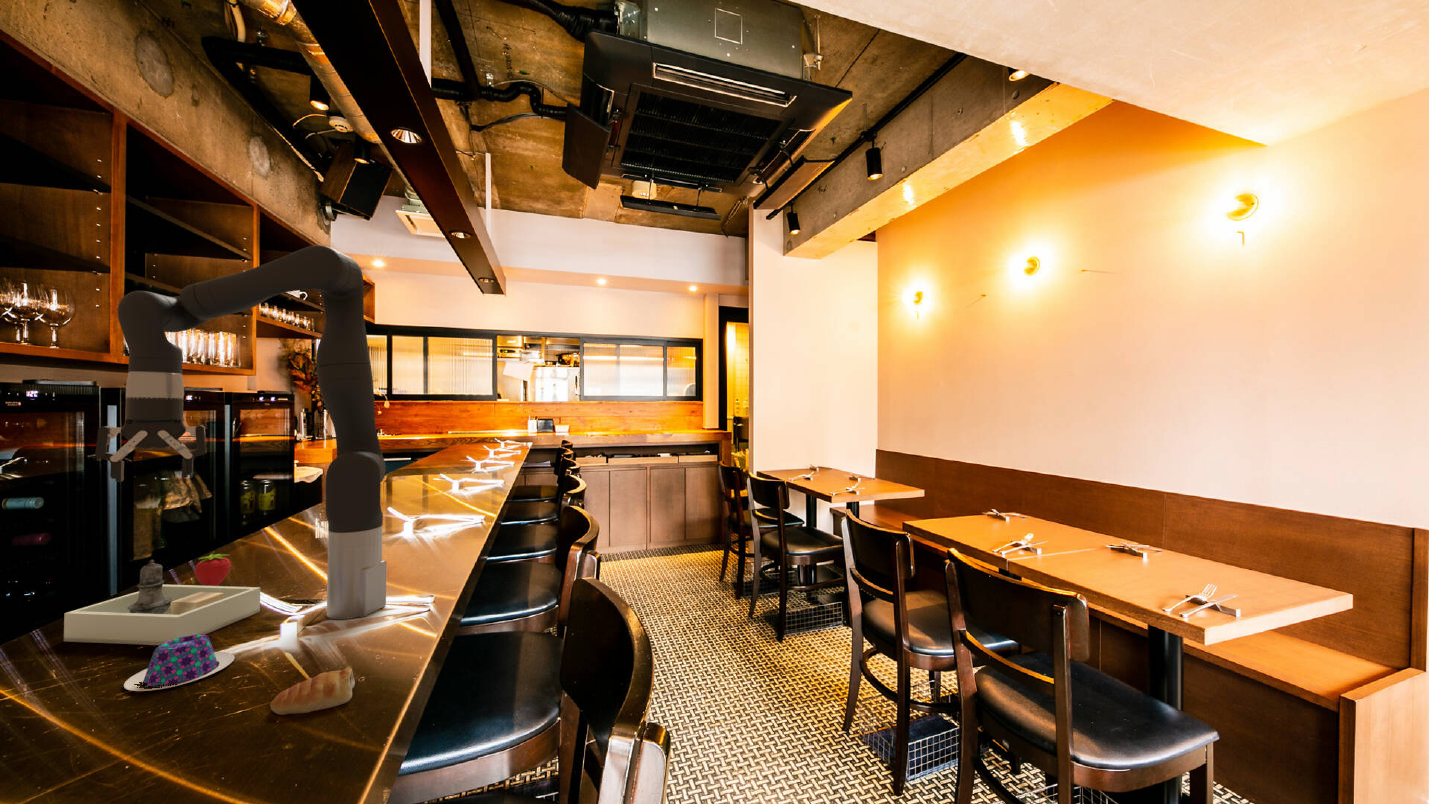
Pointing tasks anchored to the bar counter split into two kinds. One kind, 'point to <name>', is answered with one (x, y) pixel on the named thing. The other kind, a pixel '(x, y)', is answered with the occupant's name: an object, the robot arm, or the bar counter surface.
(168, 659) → the patterned hat
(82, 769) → the bar counter surface
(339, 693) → the pastry
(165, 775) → the bar counter surface
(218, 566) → the strawberry
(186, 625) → the tray
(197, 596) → the maple block
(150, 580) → the dark grey tiered piece
